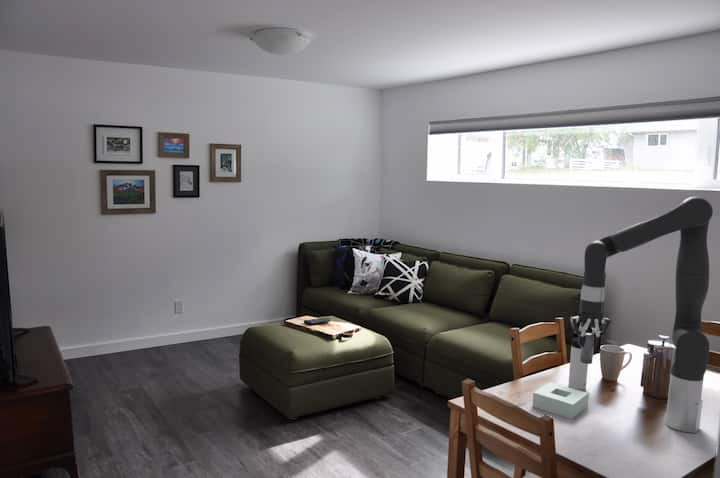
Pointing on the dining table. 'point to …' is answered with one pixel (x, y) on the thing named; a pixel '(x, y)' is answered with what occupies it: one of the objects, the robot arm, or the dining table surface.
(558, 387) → the socket block
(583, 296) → the robot arm
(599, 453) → the dining table surface
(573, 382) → the travel mug
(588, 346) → the pin
